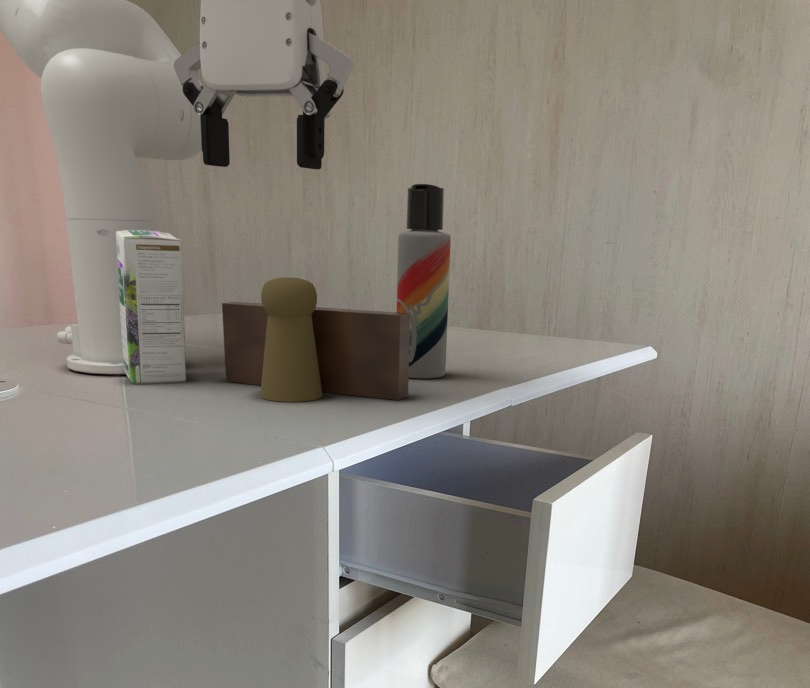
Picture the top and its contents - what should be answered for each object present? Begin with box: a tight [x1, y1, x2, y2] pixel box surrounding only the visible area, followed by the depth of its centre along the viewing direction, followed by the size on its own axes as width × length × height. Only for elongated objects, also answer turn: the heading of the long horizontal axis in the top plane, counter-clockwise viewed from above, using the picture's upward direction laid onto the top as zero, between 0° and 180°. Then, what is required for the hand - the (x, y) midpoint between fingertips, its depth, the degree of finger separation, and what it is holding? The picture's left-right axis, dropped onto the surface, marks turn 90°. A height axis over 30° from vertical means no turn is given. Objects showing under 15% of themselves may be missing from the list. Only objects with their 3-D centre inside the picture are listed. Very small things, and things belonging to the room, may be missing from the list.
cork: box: [259, 277, 324, 403], centre depth 79 cm, size 6×6×11 cm
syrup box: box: [116, 230, 187, 385], centre depth 86 cm, size 6×6×14 cm
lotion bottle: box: [396, 183, 452, 380], centre depth 91 cm, size 6×6×20 cm
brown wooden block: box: [221, 301, 410, 401], centre depth 84 cm, size 20×2×8 cm, turn 66°
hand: (262, 166), depth 74 cm, fingers open, 9 cm apart
